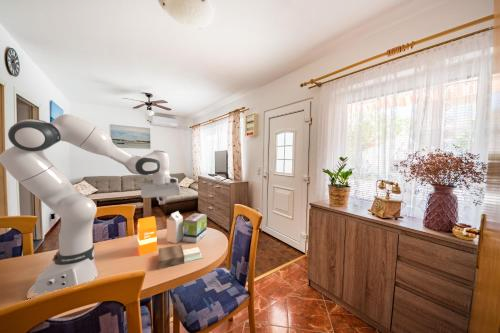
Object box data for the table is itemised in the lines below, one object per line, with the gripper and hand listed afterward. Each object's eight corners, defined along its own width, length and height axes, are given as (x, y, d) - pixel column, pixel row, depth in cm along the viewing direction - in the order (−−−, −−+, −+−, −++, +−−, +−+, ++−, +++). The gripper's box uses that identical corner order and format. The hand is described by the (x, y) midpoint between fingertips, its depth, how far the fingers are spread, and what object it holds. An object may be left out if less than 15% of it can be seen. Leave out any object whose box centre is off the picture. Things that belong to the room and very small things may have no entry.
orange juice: (157, 250, 112) (156, 217, 111) (140, 255, 107) (139, 221, 105) (154, 245, 118) (153, 214, 117) (137, 250, 113) (136, 217, 111)
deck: (159, 269, 94) (158, 261, 94) (158, 255, 107) (158, 248, 107) (184, 263, 100) (184, 256, 100) (181, 250, 112) (181, 244, 112)
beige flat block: (183, 258, 104) (183, 255, 103) (182, 253, 109) (182, 250, 109) (200, 255, 107) (200, 251, 107) (198, 250, 113) (198, 247, 113)
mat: (184, 262, 101) (184, 261, 101) (181, 251, 111) (181, 251, 111) (202, 258, 105) (202, 257, 105) (198, 248, 116) (198, 247, 116)
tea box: (197, 243, 122) (197, 220, 121) (183, 241, 124) (182, 219, 123) (207, 233, 137) (206, 213, 136) (194, 232, 139) (194, 212, 138)
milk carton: (167, 241, 123) (166, 213, 122) (174, 237, 130) (174, 210, 129) (176, 243, 121) (175, 214, 120) (183, 238, 128) (182, 211, 127)
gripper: (139, 181, 98) (140, 207, 99) (180, 179, 107) (181, 203, 108) (140, 179, 104) (140, 204, 105) (179, 178, 113) (180, 201, 114)
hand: (161, 204), depth 107 cm, fingers closed
